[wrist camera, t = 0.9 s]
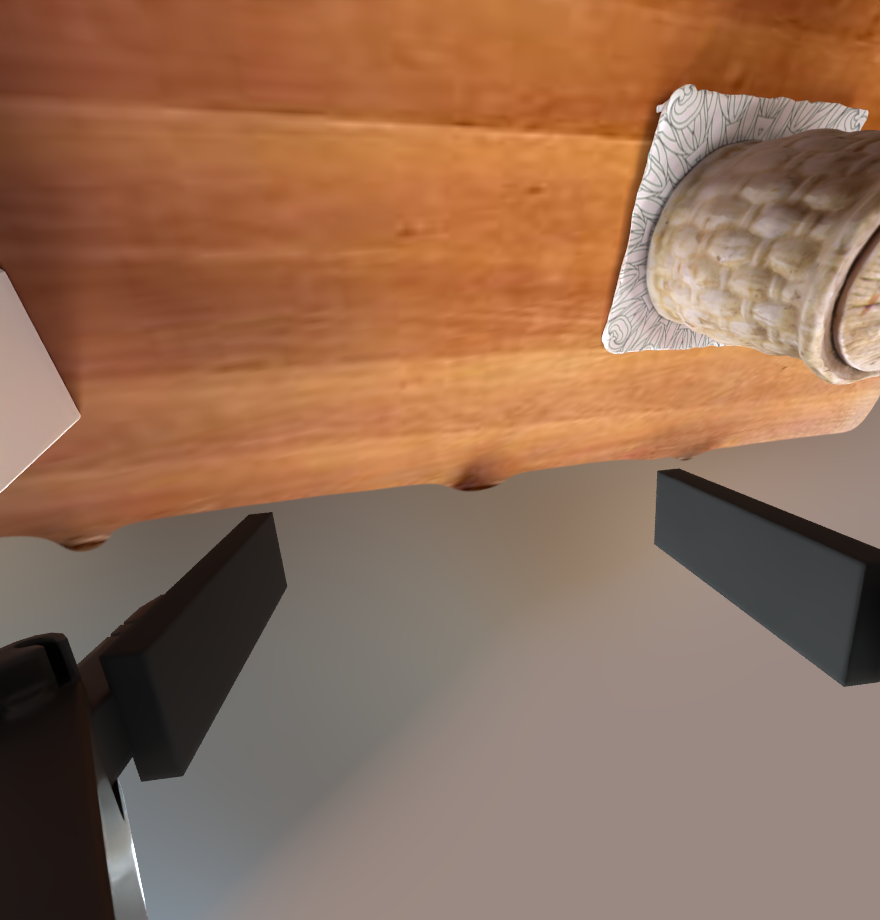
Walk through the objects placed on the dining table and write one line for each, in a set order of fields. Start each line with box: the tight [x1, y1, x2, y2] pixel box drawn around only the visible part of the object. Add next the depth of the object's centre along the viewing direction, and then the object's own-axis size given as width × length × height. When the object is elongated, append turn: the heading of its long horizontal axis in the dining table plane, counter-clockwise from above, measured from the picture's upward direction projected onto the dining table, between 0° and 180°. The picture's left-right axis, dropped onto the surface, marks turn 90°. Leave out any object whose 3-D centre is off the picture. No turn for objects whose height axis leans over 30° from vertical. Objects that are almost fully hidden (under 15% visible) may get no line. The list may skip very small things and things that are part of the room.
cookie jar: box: [602, 84, 880, 384], centre depth 33 cm, size 25×25×32 cm
